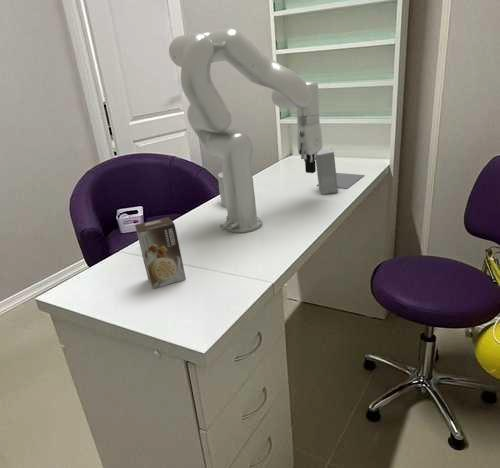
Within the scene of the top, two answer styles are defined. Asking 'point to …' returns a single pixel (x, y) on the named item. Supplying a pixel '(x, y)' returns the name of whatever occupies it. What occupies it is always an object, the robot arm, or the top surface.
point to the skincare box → (326, 171)
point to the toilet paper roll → (221, 189)
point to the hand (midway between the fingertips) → (310, 172)
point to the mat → (346, 180)
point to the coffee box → (160, 252)
